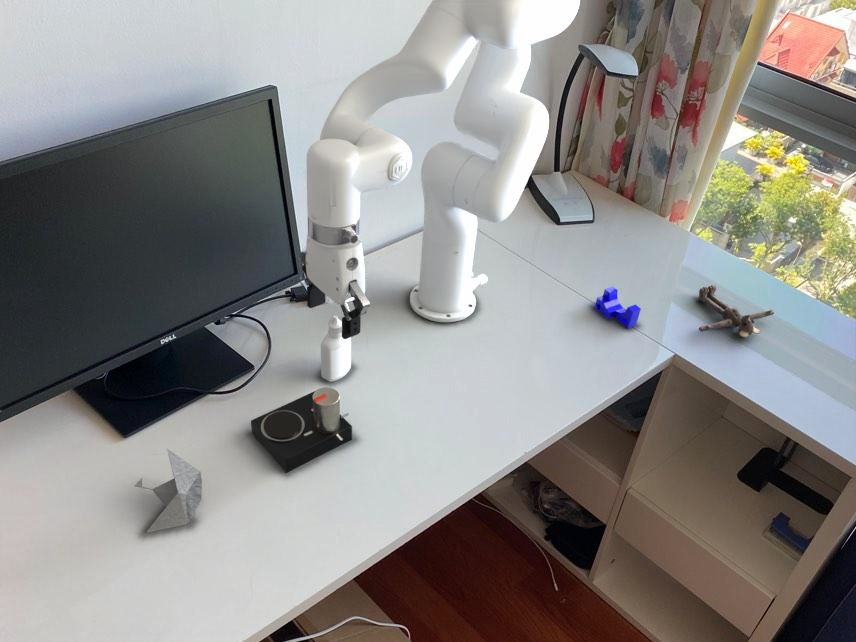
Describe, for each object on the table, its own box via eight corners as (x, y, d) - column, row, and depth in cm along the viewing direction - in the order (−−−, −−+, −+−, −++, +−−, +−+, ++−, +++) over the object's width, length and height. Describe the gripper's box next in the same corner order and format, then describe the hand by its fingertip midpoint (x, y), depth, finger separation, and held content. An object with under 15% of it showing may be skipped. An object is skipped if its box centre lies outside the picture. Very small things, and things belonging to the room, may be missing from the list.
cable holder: (594, 307, 157) (598, 291, 154) (607, 303, 158) (612, 286, 155) (622, 330, 152) (627, 313, 149) (635, 325, 153) (640, 308, 151)
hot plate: (322, 401, 132) (321, 386, 130) (363, 442, 126) (363, 428, 124) (252, 434, 126) (250, 419, 124) (292, 479, 120) (291, 465, 118)
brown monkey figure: (742, 276, 163) (794, 312, 152) (737, 295, 165) (787, 331, 155) (670, 292, 157) (719, 331, 146) (665, 311, 159) (713, 350, 149)
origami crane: (191, 540, 109) (121, 527, 107) (190, 542, 115) (124, 530, 113) (212, 454, 112) (144, 440, 110) (210, 460, 118) (146, 447, 116)
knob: (330, 412, 126) (329, 382, 122) (344, 426, 124) (344, 397, 120) (308, 422, 124) (307, 392, 120) (323, 437, 122) (322, 407, 118)
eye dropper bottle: (356, 377, 137) (356, 321, 129) (324, 384, 135) (323, 328, 127) (347, 361, 140) (347, 305, 132) (316, 368, 138) (314, 312, 130)
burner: (289, 406, 127) (289, 403, 126) (313, 430, 123) (312, 427, 123) (252, 423, 123) (252, 420, 123) (275, 448, 120) (275, 445, 120)
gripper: (389, 246, 115) (384, 340, 127) (322, 194, 124) (322, 286, 136) (346, 261, 111) (345, 356, 123) (280, 207, 121) (284, 301, 132)
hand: (333, 320), depth 129 cm, fingers open, 9 cm apart
